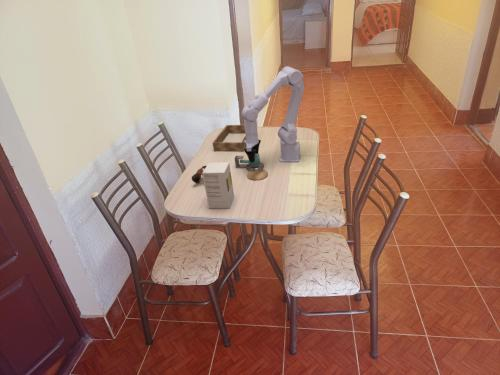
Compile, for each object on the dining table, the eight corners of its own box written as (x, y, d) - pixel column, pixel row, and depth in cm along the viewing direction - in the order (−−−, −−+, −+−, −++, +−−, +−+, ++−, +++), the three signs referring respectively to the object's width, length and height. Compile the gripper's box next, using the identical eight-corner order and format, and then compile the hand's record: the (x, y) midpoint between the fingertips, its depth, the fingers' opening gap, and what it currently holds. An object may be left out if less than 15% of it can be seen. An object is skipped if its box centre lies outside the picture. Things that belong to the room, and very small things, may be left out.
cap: (260, 160, 175) (260, 152, 173) (258, 165, 171) (257, 156, 169) (241, 159, 178) (240, 151, 176) (238, 164, 174) (237, 156, 171)
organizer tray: (254, 132, 213) (253, 124, 211) (243, 151, 192) (242, 143, 189) (227, 132, 217) (226, 125, 215) (213, 151, 196) (212, 143, 194)
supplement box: (230, 209, 146) (224, 173, 137) (208, 208, 148) (201, 173, 139) (234, 196, 154) (229, 161, 145) (214, 196, 156) (207, 162, 147)
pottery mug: (203, 175, 175) (208, 162, 170) (215, 187, 171) (221, 174, 167) (184, 180, 166) (190, 167, 161) (197, 193, 162) (203, 180, 158)
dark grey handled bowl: (265, 163, 178) (265, 153, 175) (262, 171, 170) (261, 161, 167) (238, 162, 181) (237, 152, 178) (234, 170, 174) (232, 160, 171)
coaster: (269, 170, 171) (269, 169, 170) (265, 180, 162) (265, 179, 162) (249, 169, 173) (249, 168, 173) (244, 180, 165) (244, 179, 165)
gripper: (246, 126, 173) (249, 151, 180) (239, 138, 161) (242, 165, 168) (261, 126, 171) (263, 152, 178) (254, 138, 159) (256, 165, 166)
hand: (254, 158), depth 173 cm, fingers open, 7 cm apart
